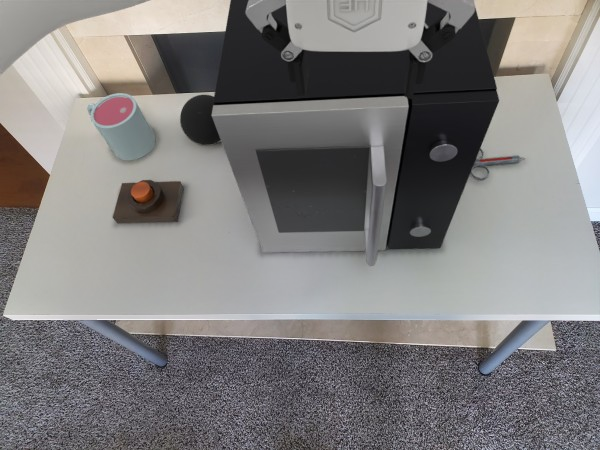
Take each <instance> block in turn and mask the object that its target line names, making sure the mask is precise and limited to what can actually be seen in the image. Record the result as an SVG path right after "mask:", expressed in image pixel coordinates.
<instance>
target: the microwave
mask: <svg viewBox="0 0 600 450" xmlns="http://www.w3.org/2000/svg"><path fill="white" fill-rule="evenodd" d="M248 1H249V0H230V2H229V8H228V13H227V18H226V19H227V20H226V26H225V30H224V37H223V43H222V48H221V54H220V60H219V66H218V72H217V78H216V83H215V90H214V95H213V96H214V101H213V103H214V105H230V104H251V103H271V102H292V101H312V100H332V99H353V98H373V97H394V96H405V71H406V64H407V56H408V50H404V51H394V52H323V51H307V56H308V66H309V79H308V85H307V91H306V95H304V97H298V94H297V87H296V83H291V82H290V77H289V71H288V64H287V61H285V60H284V59H282V57H281V52H280V51H278V50H277V49H276V48H274V47H273V46H272V45H270V44H269V43H267V42H266V41H265V40H264V39H263V38H262V33H261V32H260V31H259V30H257V28H256V27H255V26H254V25H253V23H252V22H251V21H250V19H249V18H248V17H247V16H246V13H245V11H246V8H247V4H248ZM271 14H272V17H274V18H276V19H277V20H278V21H280V22H281V23H282V24H284V25H285V26H286V27H287V28H288V21H287V9H286V5H285V6H283V7H281V8H279V9H277V10H275V11H274V12H272V13H271ZM446 14H447V11H445V10H443V9H441V8H438V7H436V6H434V5H432V4H430V3H428V2H427V9H426V16H425V23H426V25H427V26H428V27H430V26H431V25H432V24H434V23H435V22H436V21H438V20H439V19H440V18H442V17H443V16H445V15H446ZM479 19H480V18H479V15H478V11H477V8H476V7H475V12H474V14H473V15H472V16H471V17H470V18H469V20H468V21H467V22H466V23H465V24H464V25H463V27H462V28H461V29H459V30H458V31H457V32H456V35H455V38H454V39H453V40H452V41H450V42H449V43H447V44H446V45H444V46H443V47H441V48H440V49H438V50H437V51H436V52H434V53H433V54H432V58H431V60H429V61H427V62H426V67H425V73H424V78H423V83H422V84H415V89H414V95H413V99H408V105H409V107H408V113H407V119H406V126H405V132H404V138H403V144H402V150H401V156H400V163H399V169H398V175H397V181H396V187H395V193H394V200H393V206H392V212H391V218H390V224H389V230H388V237H387V243H386V248H387V250H417V249H418V250H420V249H441V247H442V245H443V242H444V240H445V238H446V235H447V233H448V230H449V228H450V225H451V224H452V223H451V222H452V221H453V218H454V216H455V214H456V213H455V212H456V210H457V207H458V205H459V203H460V200H461V197H462V195H463V193H464V190H465V188H466V185H467V182H468V180H469V178H470V176H471V170H472V171H473V169H474V168H473V165H474V163H475V160H476V159H478V155H479V152H480V148H481V147H482V145H483V143H484V141H485V138H486V135H487V133H488V130H489V128H490V125H491V123H492V120H493V118H494V115H495V112H496V110H497V107H498V105H499V102H500V97H499V94H498V91H497V90H498V86H497V83H496V80H495V75H494V72H493V67H492V64H491V60H490V56H489V52H488V50H487V45H486V41H485V39H484V38H485V37H484V34H483V31H482V26H481V23H480V20H479ZM481 149H482V148H481ZM472 168H473V169H472Z"/></svg>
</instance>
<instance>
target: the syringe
mask: <svg viewBox="0 0 600 450" xmlns="http://www.w3.org/2000/svg"><path fill="white" fill-rule="evenodd" d="M479 152H481V157H479V158H476V160H475V163H474V165H473V168H472V170H471V173H470V176H471V177H473V178H474V179H475V180H479V181H484V180H486V179H487V178H489V176H490V173H491V172H490V169H489V168H488V167H487V166H497V165H507V164H517V163H520V161H523V160H526V159H528V157H526V158H525V157H522V156H521V157H520V155H510V156H498V157H497V156H496V157H485V158H484V155H485V153H484V150H483V149H482V148H480V150H479ZM477 167H481V168H484V169H485V170H486V171H487V175H486V176H484V177H478V176H477V175H475V174H474V173H473V170H474V168H477Z"/></svg>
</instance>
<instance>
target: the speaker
mask: <svg viewBox="0 0 600 450" xmlns="http://www.w3.org/2000/svg"><path fill="white" fill-rule="evenodd" d="M213 101H214V95H211V94H199V95H195V96H192V97H191V98H189V99H188V100H187V101H186V102H185V103H184V105H183V106H182V108H181V111H180V115H179V123H180V127H181V129H182V131H183V133H184V135H185V136H186V137H187V138H188V139H189V140H190V141H192V142H193V143H195V144H198V145H201V146H213V145H216V144H218V143H219V142H221V139H220V137H219V134H218V131H217V129H216V126H215V123H214V121H213V118H212V110H213V105H214V103H213Z"/></svg>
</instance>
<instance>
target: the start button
mask: <svg viewBox="0 0 600 450" xmlns="http://www.w3.org/2000/svg"><path fill="white" fill-rule="evenodd" d="M138 182H139V183H137V182H136V183H137V184H135V185H134V186H133V187H132V189H131V194H132V196H133V197H134V199H135V200H136V201H137V202H139V203H144V202H147V201H149V200H150V199H151V198H152V196H153V190H152V188H151V187H150V186H149V184H148V183H146V182H140V181H138Z"/></svg>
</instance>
